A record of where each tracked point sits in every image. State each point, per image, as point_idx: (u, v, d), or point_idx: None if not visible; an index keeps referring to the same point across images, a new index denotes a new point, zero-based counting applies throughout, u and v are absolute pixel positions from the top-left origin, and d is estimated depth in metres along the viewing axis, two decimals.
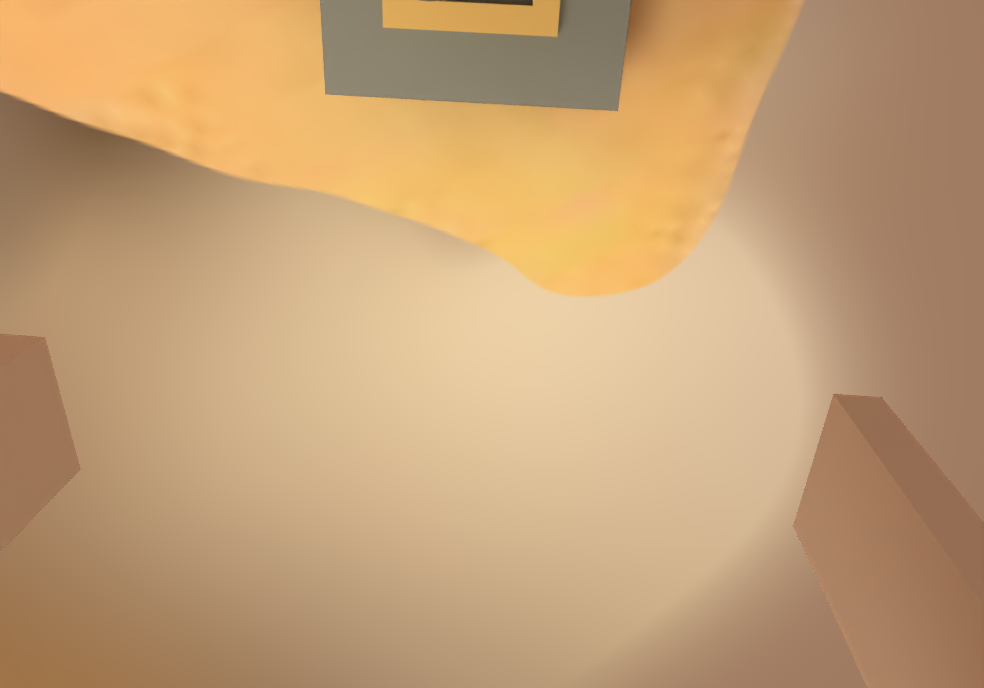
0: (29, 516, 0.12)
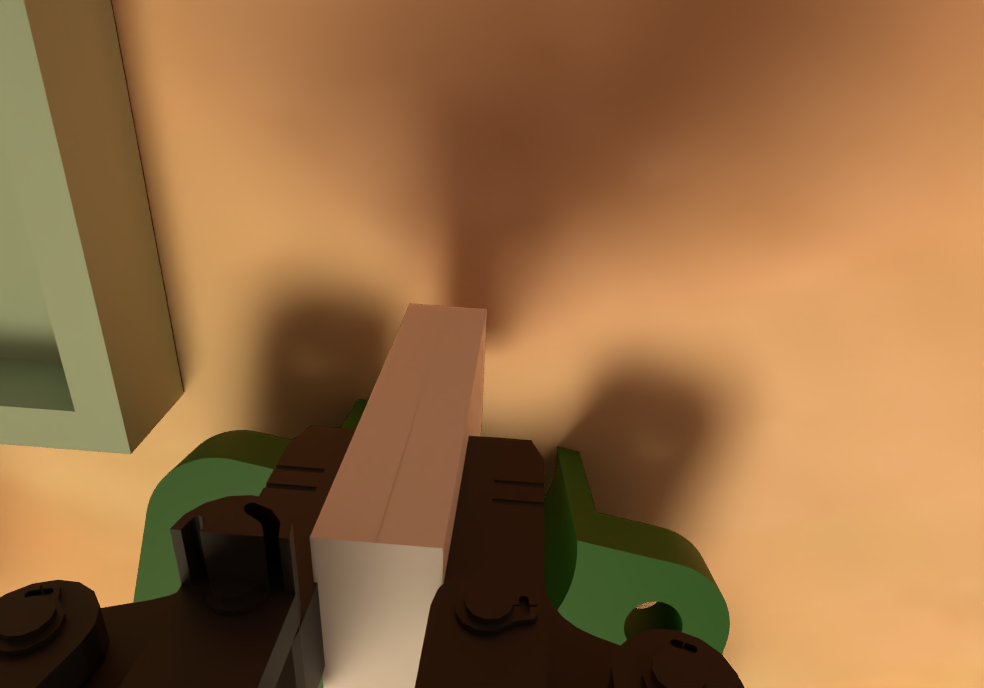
0: None
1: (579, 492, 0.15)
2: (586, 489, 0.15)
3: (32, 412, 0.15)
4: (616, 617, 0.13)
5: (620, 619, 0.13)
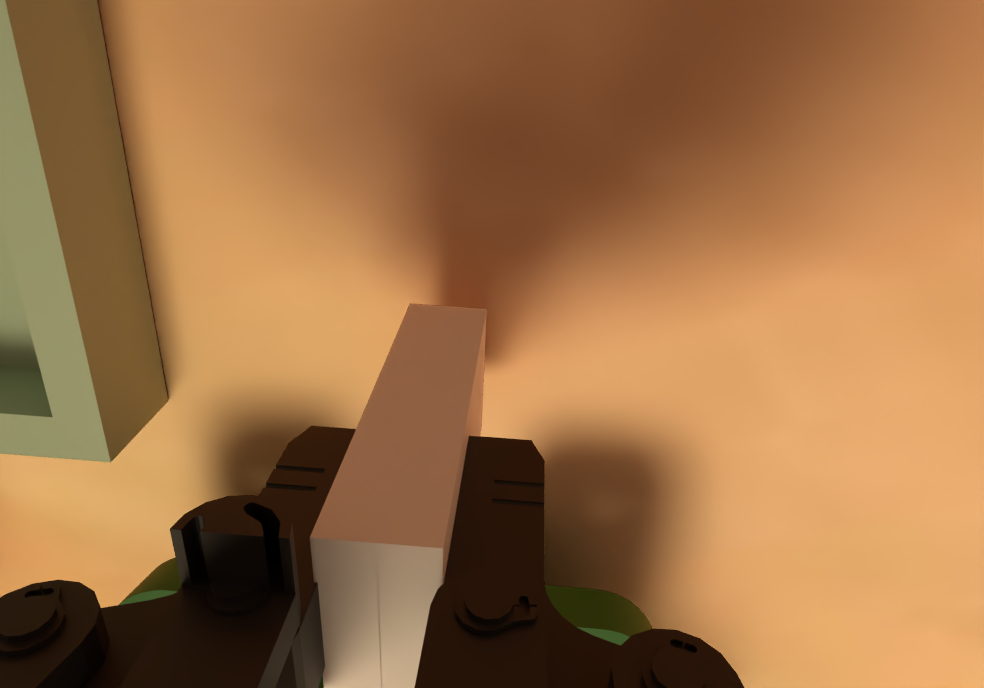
0: None
1: None
2: None
3: (8, 418, 0.14)
4: None
5: None
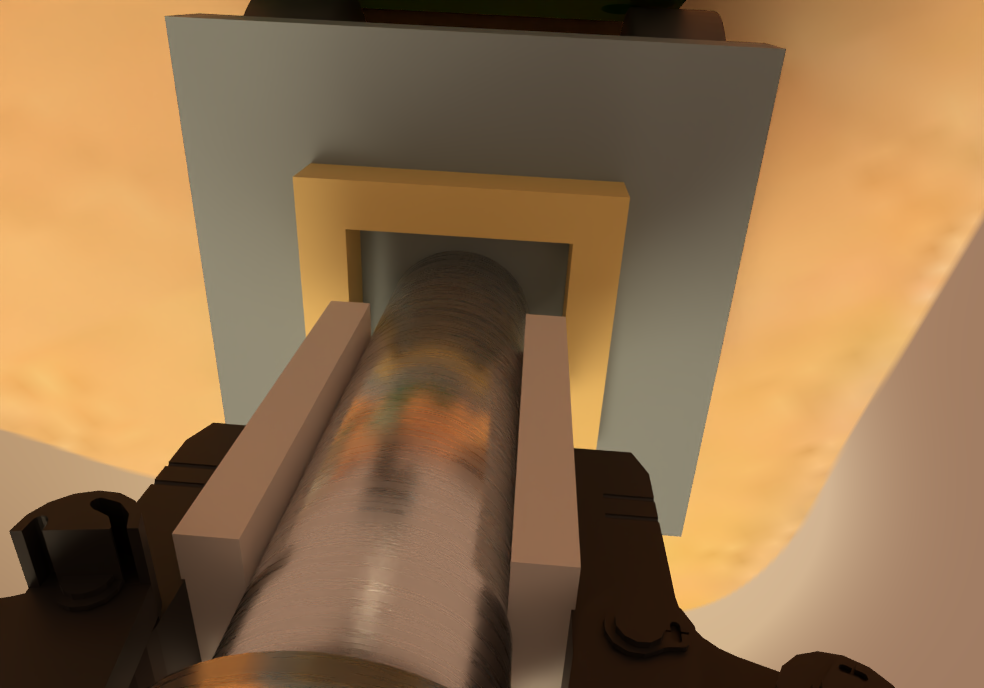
0: None
1: None
2: None
3: None
4: None
5: None
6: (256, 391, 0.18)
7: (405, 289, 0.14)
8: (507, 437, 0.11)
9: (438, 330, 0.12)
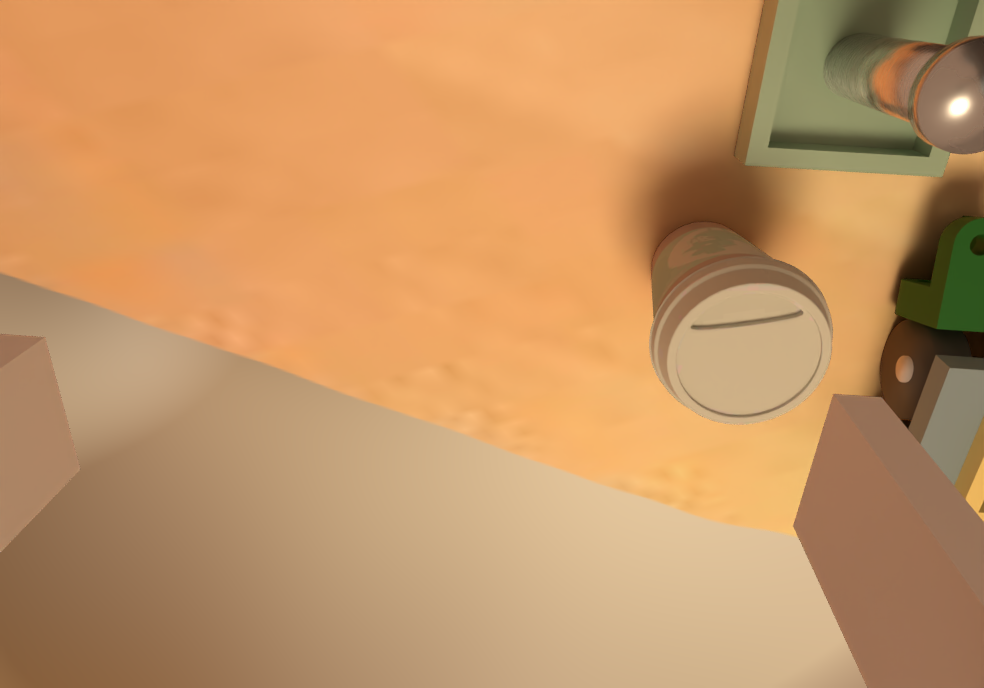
0: (29, 516, 0.12)
1: None
2: None
3: (908, 158, 0.38)
4: None
5: None
6: None
7: (855, 40, 0.35)
8: None
9: (899, 38, 0.33)
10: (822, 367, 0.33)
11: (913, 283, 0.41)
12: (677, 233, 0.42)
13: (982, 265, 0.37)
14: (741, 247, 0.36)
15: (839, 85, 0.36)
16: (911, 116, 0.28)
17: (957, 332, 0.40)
